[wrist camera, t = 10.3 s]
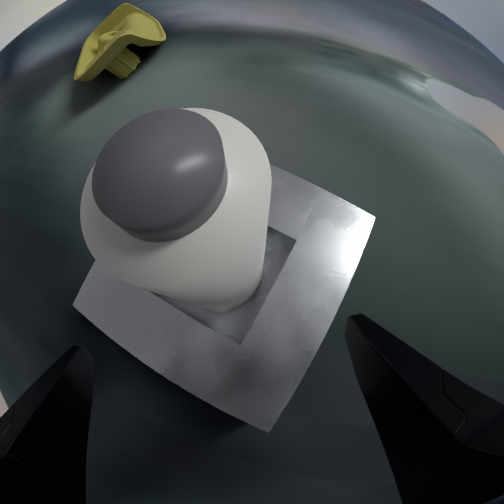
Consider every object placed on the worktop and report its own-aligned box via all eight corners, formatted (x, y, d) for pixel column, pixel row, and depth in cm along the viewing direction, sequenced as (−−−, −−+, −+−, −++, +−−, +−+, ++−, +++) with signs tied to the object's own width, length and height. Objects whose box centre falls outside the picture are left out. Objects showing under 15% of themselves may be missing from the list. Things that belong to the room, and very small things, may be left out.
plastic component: (85, 39, 26) (129, -4, 22) (115, 59, 32) (158, 19, 29) (68, 94, 20) (133, 24, 16) (116, 119, 26) (178, 61, 23)
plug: (277, 286, 17) (325, 194, 5) (207, 326, 16) (92, 326, 4) (237, 222, 18) (208, 61, 6) (171, 259, 17) (50, 150, 5)
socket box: (356, 235, 19) (380, 212, 15) (266, 413, 16) (269, 438, 12) (193, 157, 21) (181, 123, 17) (99, 309, 18) (65, 304, 13)
